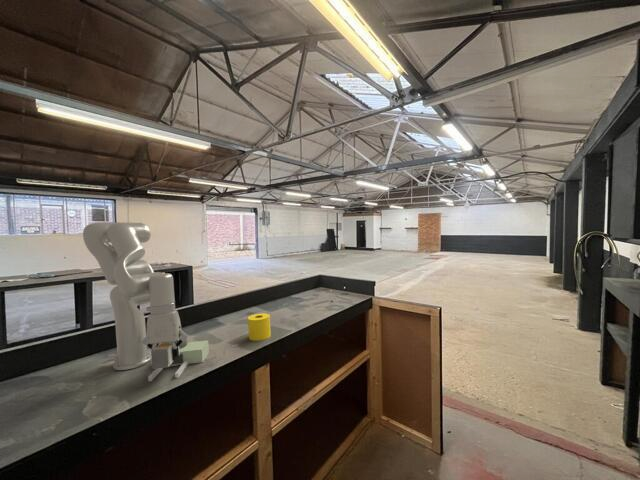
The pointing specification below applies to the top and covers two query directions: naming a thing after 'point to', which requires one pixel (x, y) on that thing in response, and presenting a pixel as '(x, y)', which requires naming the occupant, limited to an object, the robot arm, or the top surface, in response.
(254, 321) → the tape roll
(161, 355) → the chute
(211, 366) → the top surface
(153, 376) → the green box with window
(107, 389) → the top surface
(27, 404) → the top surface
